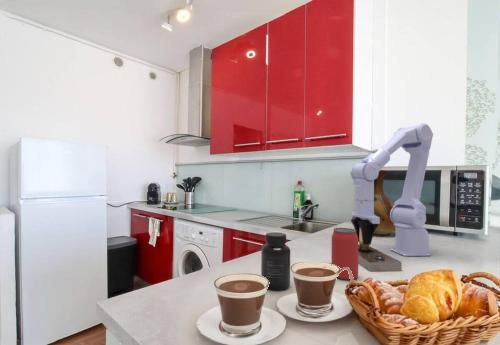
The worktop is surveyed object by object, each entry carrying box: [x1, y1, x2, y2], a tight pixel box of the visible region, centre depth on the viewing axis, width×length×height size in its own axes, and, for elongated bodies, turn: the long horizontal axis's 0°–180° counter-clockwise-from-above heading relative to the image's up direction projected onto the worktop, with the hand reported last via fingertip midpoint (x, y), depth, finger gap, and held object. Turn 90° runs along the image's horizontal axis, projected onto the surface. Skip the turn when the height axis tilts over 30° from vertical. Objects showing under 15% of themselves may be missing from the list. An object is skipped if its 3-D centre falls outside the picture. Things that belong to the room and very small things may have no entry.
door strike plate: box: [358, 244, 403, 272], centre depth 85 cm, size 24×9×3 cm, turn 4°
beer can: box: [331, 227, 359, 281], centre depth 70 cm, size 7×7×12 cm
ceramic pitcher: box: [351, 169, 396, 236], centre depth 125 cm, size 20×20×30 cm
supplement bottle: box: [260, 231, 291, 292], centre depth 63 cm, size 7×7×12 cm
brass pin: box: [358, 225, 370, 250], centre depth 85 cm, size 3×3×8 cm
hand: (364, 242), depth 85 cm, fingers closed on brass pin, 3 cm apart
